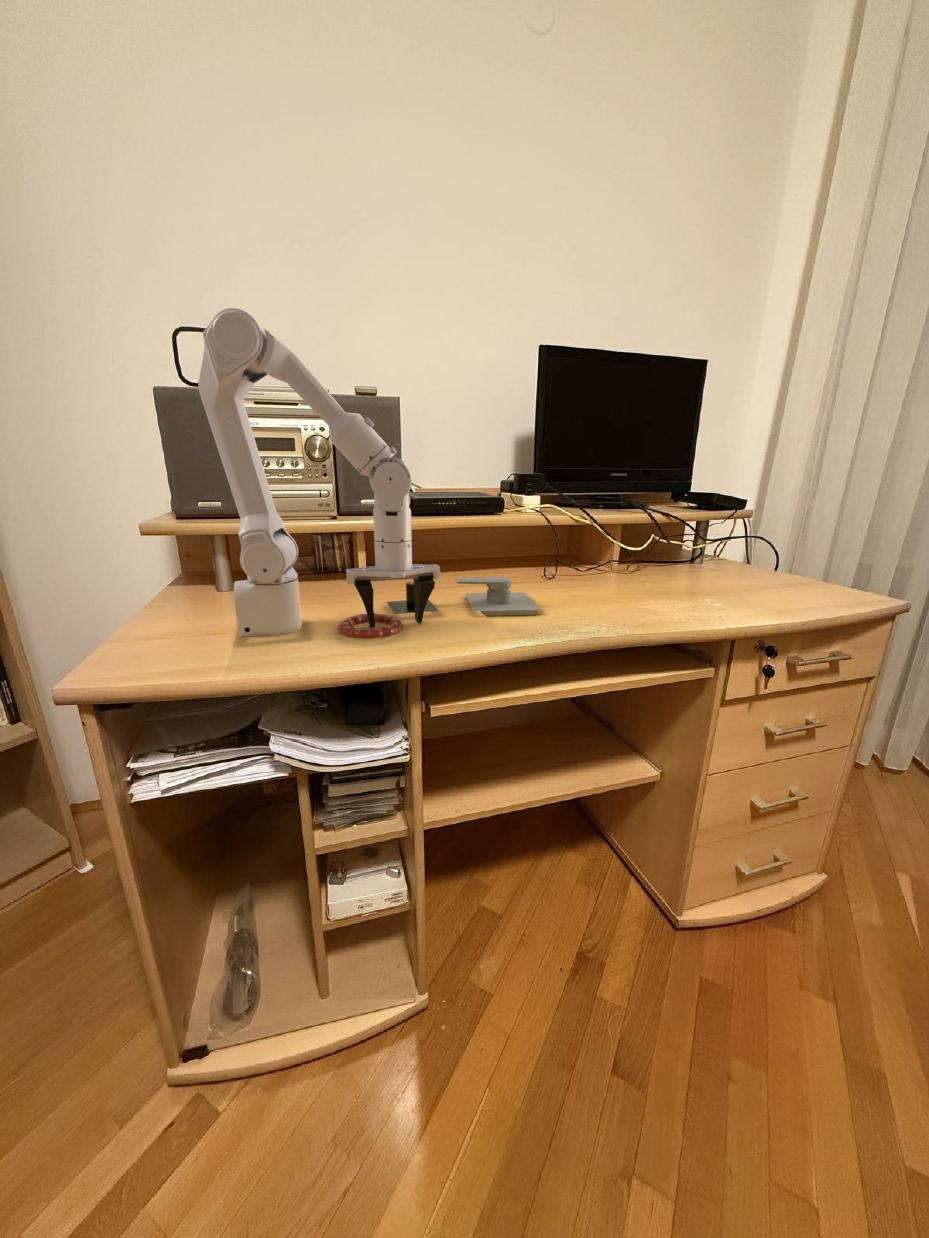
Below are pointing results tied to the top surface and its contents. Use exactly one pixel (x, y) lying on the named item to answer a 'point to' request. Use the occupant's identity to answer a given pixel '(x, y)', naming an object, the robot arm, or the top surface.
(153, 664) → the top surface
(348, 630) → the ring
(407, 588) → the peg stand
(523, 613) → the shower valve
